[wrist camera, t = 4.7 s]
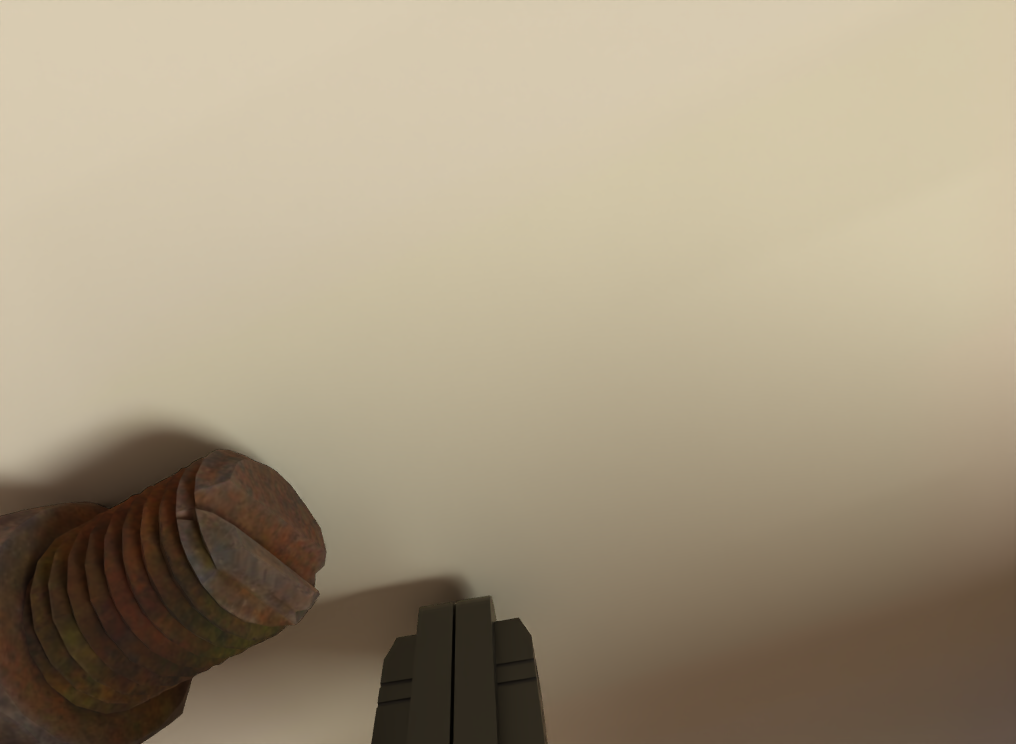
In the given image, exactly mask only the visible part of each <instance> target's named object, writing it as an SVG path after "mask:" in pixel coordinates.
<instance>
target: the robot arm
mask: <svg viewBox="0 0 1016 744" xmlns="http://www.w3.org/2000/svg"><path fill="white" fill-rule="evenodd" d="M371 744H548V742H547V735H546V727H545V719H544V712H543V704H542V696H541V689H540V683H539V677H538V672H537V666H536V660H535V655H534V649H533V643H532V637H531V635H530V633H529V632H528V630H527V629H526V628H525V626H524V625H523V623H522V622H521V620H520V619H519V618H514V619H508V620H502V621H496V616H495V611H494V606H493V601H492V597H491V596H485V597H479V598H473V599H466V600H460V601H457V602H456V603H455V602H449V603H443V604H437V605H430V606H424V607H420V609H419V614H418V625H417V635H411V636H405V637H399V638H397V639H396V640H395V642H394V644H393V645H392V647H391V649H390V650H389V652H388V654H387V656H386V657H385V659H384V663H383V670H382V676H381V688H380V690H379V696H378V708H377V710H376V716H375V723H374V730H373V736H372V743H371Z"/></svg>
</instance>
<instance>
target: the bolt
mask: <svg viewBox="0 0 1016 744" xmlns="http://www.w3.org/2000/svg"><path fill="white" fill-rule="evenodd" d="M325 558H326V548H325V544H324V540H323V536H322V532H321V528H320V527H319V525H318V524H317V522H316V520H315V519H314V517H313V516H312V514H311V513H310V511H309V510H308V508H307V507H306V505H305V504H304V503H303V501H302V500H301V499H300V497H299V496H298V494H297V493H296V492H295V490H294V489H293V488H292V486H291V485H290V484H289V483H288V482H287V481H286V480H285V479H284V478H283V477H282V476H281V475H280V474H279V473H278V472H277V471H275V470H273V469H272V468H270V467H268V466H267V465H264V464H261V463H259V462H256V461H253V460H252V459H250V458H248V457H246V456H244V455H241V454H239V453H236V452H233V451H230V450H218V449H217V450H215V451H213V452H211V453H209V454H208V455H207V456H206V457H205V458H200V459H198V460H196V461H194V462H193V463H192V464H191V465H190V466H189V467H186V468H182V469H181V470H180V471H178V472H177V473H176V474H174V475H172V476H170V477H168V478H166V479H164V480H162V481H161V482H159V483H157V484H156V485H154V486H149V487H147V488H146V489H145V490H144V491H143V492H142V493H141V494H137V495H133V496H131V497H130V498H129V499H127V500H126V501H124V502H122V503H120V504H119V505H117V506H115V507H113V508H111V509H109V508H106V507H103V506H101V505H98V504H96V503H90V502H77V503H63V504H56V505H50V506H45V507H39V508H33V509H27V510H23V511H19V512H15V513H11V514H7V515H3V516H0V744H141V743H143V742H144V741H146V740H147V739H149V738H150V737H152V736H153V735H155V734H156V733H157V732H159V731H160V730H162V729H163V728H165V727H166V726H168V725H169V724H170V723H172V722H173V721H174V720H175V719H176V718H178V717H179V716H180V715H181V714H182V713H183V709H184V706H185V702H186V699H187V695H188V692H189V688H190V684H191V681H192V678H193V677H194V676H195V675H196V674H199V673H201V672H204V671H207V670H209V669H210V668H211V667H212V666H214V665H219V664H221V663H222V662H224V661H225V660H226V659H228V658H229V657H232V656H234V655H237V654H239V653H242V652H243V651H244V650H246V649H247V648H248V647H251V646H253V645H255V644H258V643H260V642H262V641H264V640H265V639H268V638H270V637H273V636H275V635H277V634H278V633H279V632H281V631H282V630H283V629H284V628H285V627H286V626H287V625H296V624H297V623H298V622H300V621H301V619H302V618H303V617H304V615H305V614H306V613H307V611H308V609H311V607H312V606H313V604H314V603H315V601H316V600H317V598H318V596H319V595H320V593H319V591H318V590H317V589H315V588H314V587H315V574H316V573H317V572H318V571H319V570H320V569H321V568H322V567H323V566H324V564H325Z"/></svg>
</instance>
